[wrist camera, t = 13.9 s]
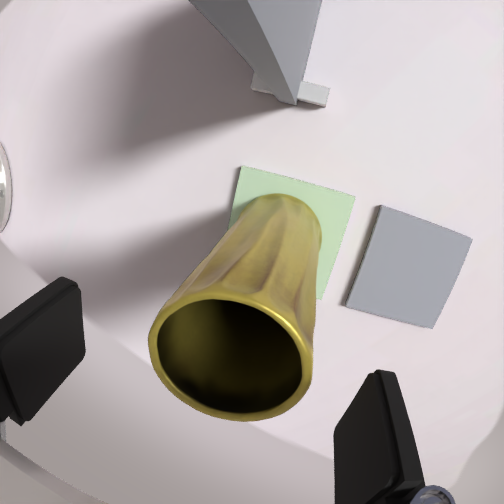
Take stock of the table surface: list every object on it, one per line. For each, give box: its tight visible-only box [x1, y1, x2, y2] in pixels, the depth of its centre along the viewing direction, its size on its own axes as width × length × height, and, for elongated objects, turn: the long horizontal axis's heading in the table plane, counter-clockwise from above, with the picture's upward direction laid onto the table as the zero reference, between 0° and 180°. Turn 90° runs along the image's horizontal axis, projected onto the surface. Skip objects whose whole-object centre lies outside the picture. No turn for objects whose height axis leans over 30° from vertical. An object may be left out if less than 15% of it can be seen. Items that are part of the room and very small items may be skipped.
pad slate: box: [345, 205, 473, 329], centre depth 22 cm, size 8×8×1 cm
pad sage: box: [227, 166, 355, 300], centre depth 22 cm, size 8×8×1 cm
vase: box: [148, 193, 322, 422], centre depth 16 cm, size 6×6×14 cm
